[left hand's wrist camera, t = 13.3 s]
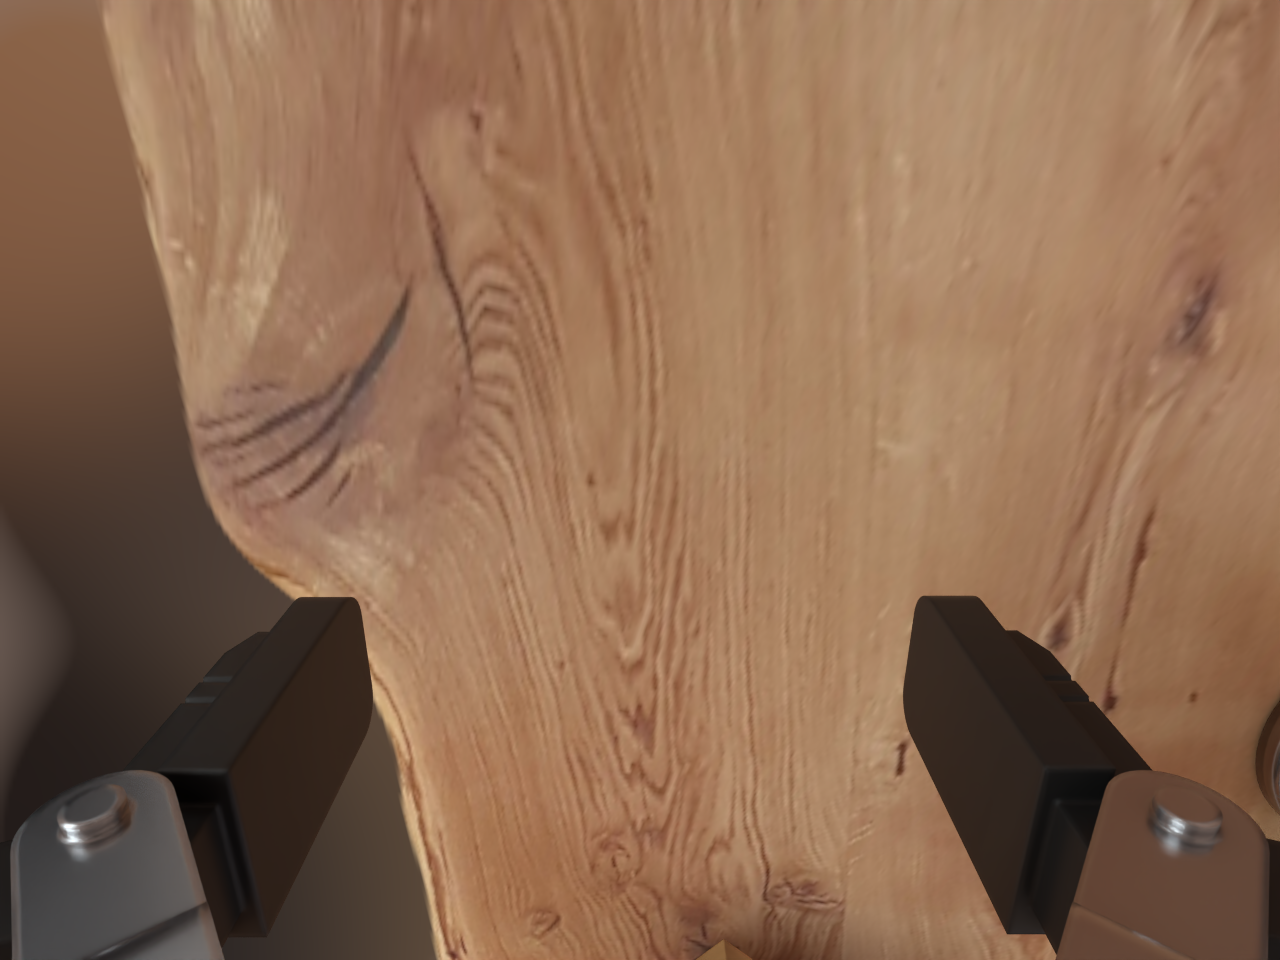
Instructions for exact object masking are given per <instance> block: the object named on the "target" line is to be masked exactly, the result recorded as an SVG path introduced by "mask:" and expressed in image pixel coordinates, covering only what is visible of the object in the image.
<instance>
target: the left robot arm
mask: <svg viewBox="0 0 1280 960" xmlns="http://www.w3.org/2000/svg"><path fill="white" fill-rule="evenodd" d="M903 704H904V713H905V719H906V723H907V727H908V730H909V732H910V734H911V737H912V739H913V741H914V743H915V745H916V747H917V749H918V751H919V753H920V755H921V757H922V759H923V761H924V763H925V765H926V768H927V770H928V772H929V774H930V776H931V778H932V780H933V782H934V784H935V786H936V788H937V790H938V792H939V794H940V796H941V799H942V801H943V803H944V805H945V807H946V809H947V811H948V813H949V815H950V817H951V819H952V821H953V823H954V825H955V828H956V830H957V832H958V834H959V836H960V838H961V840H962V842H963V844H964V846H965V848H966V850H967V852H968V854H969V856H970V859H971V861H972V863H973V865H974V867H975V869H976V871H977V873H978V875H979V877H980V879H981V881H982V883H983V885H984V887H985V890H986V892H987V894H988V896H989V898H990V900H991V902H992V904H993V906H994V908H995V910H996V912H997V914H998V916H999V918H1000V921H1001V923H1002V925H1003V927H1004V929H1005V931H1006V933H1007V934H1046V936H1047V938H1048V940H1049V941H1050V943H1051V945H1052V947H1053V949H1054V951H1055V953H1056V955H1057V956H1056V960H1280V841H1275V840H1271V839H1267V838H1266V837H1265V835H1264V833H1263V832H1262V830H1261V829H1260V827H1259V826H1258V824H1257V823H1256V822H1255V821H1254V820H1253V819H1252V818H1251V817H1250V816H1249V815H1248V814H1247V813H1246V812H1245V811H1244V810H1242V809H1241V808H1240V807H1239V806H1238V805H1236V804H1235V803H1233V802H1232V801H1231V800H1229V799H1228V798H1226V797H1224V796H1223V795H1221V794H1219V793H1218V792H1216V791H1214V790H1212V789H1210V788H1208V787H1206V786H1204V785H1202V784H1200V783H1197V782H1195V781H1192V780H1190V779H1187V778H1184V777H1180V776H1177V775H1173V774H1169V773H1165V772H1158V771H1152V769H1151V768H1150V767H1149V766H1148V765H1147V764H1146V762H1145V761H1144V760H1143V759H1142V758H1141V757H1140V755H1139V754H1138V753H1137V752H1136V751H1135V750H1134V748H1133V747H1132V746H1131V745H1130V744H1129V743H1128V742H1127V740H1126V739H1125V738H1124V737H1123V736H1122V735H1121V733H1120V732H1119V731H1118V730H1117V729H1116V728H1115V726H1114V725H1113V724H1112V723H1111V722H1110V721H1109V719H1108V718H1107V717H1106V716H1105V715H1104V714H1103V712H1102V711H1101V710H1100V709H1099V708H1098V707H1097V705H1096V704H1095V703H1094V702H1089V696H1088V695H1087V694H1086V693H1085V692H1084V690H1083V689H1082V688H1081V687H1080V686H1079V685H1078V683H1077V682H1076V681H1072V680H1071V675H1070V674H1069V673H1068V672H1067V671H1066V669H1065V668H1064V667H1063V666H1062V665H1061V664H1060V663H1059V661H1058V660H1057V659H1056V658H1055V657H1054V656H1053V654H1052V653H1051V652H1050V651H1048V650H1047V649H1045V648H1044V647H1042V646H1041V645H1039V644H1037V643H1036V642H1034V641H1033V640H1031V639H1030V638H1028V637H1026V636H1025V635H1023V634H1022V633H1020V632H1019V631H1006V630H1005V629H1004V628H1003V627H1002V625H1001V624H1000V623H999V622H998V620H997V619H996V618H995V617H994V616H993V614H992V613H991V612H990V611H989V609H988V608H987V607H986V606H985V604H984V603H983V602H982V601H981V600H980V599H979V598H978V597H976V596H922V597H920V598H919V600H918V602H917V604H916V607H915V612H914V618H913V625H912V632H911V639H910V646H909V653H908V660H907V667H906V674H905V680H904V688H903ZM372 706H373V690H372V682H371V675H370V668H369V662H368V655H367V648H366V641H365V634H364V628H363V621H362V614H361V609H360V606H359V604H358V602H357V600H356V599H355V598H353V597H300V598H298V599H296V600H295V601H294V602H293V604H292V605H291V606H290V607H289V608H288V610H287V611H286V612H285V613H284V615H283V616H282V617H281V618H280V620H279V621H278V622H277V623H276V625H275V626H274V627H273V628H272V629H271V631H270V632H257V633H256V634H254V635H253V636H251V637H249V638H248V639H246V640H245V641H243V642H242V643H240V644H238V645H237V646H235V647H234V648H232V649H231V650H229V651H227V652H226V653H225V654H224V655H223V656H222V657H221V658H220V659H219V660H218V662H217V663H216V664H215V665H214V666H213V667H212V669H211V670H210V671H209V672H208V673H207V674H206V675H205V677H204V681H203V683H199V684H198V685H197V686H196V687H195V688H194V689H193V690H192V692H191V693H190V694H189V695H188V696H187V697H186V702H185V704H180V705H179V707H178V708H177V709H176V710H175V711H174V712H173V713H172V715H171V716H170V717H169V718H168V719H167V720H166V721H165V723H164V724H163V725H162V726H161V727H160V728H159V730H158V731H157V732H156V733H155V734H154V735H153V736H152V738H151V739H150V740H149V741H148V742H147V743H146V744H145V746H144V747H143V748H142V749H141V750H140V751H139V753H138V754H137V755H136V756H135V757H134V758H133V759H132V761H131V762H130V763H129V764H128V765H127V766H126V768H125V769H124V770H123V771H122V772H115V773H111V774H107V775H103V776H100V777H97V778H94V779H90V780H88V781H85V782H83V783H80V784H78V785H76V786H74V787H72V788H70V789H68V790H66V791H64V792H62V793H61V794H59V795H57V796H56V797H54V798H52V799H51V800H49V801H48V802H47V803H45V804H44V805H42V806H41V807H40V808H39V809H38V810H36V811H35V812H34V813H33V814H32V815H31V816H30V817H29V818H28V819H27V820H26V821H25V822H24V823H23V824H22V826H21V827H20V829H19V830H18V832H17V833H16V835H15V837H14V839H13V840H9V841H6V842H2V843H0V960H224V956H223V953H222V947H223V945H224V944H225V942H226V940H227V938H228V937H267V936H268V934H269V932H270V930H271V928H272V926H273V924H274V922H275V919H276V918H277V916H278V913H279V911H280V909H281V907H282V905H283V903H284V901H285V899H286V897H287V895H288V893H289V891H290V889H291V887H292V885H293V883H294V881H295V879H296V877H297V875H298V873H299V871H300V869H301V867H302V864H303V862H304V860H305V858H306V856H307V854H308V852H309V850H310V848H311V846H312V844H313V842H314V840H315V838H316V836H317V834H318V832H319V830H320V828H321V826H322V824H323V822H324V820H325V818H326V816H327V813H328V811H329V809H330V807H331V805H332V803H333V801H334V799H335V797H336V795H337V793H338V791H339V789H340V787H341V785H342V783H343V781H344V779H345V777H346V775H347V772H348V771H349V768H350V766H351V764H352V762H353V760H354V758H355V756H356V754H357V752H358V750H359V748H360V746H361V744H362V742H363V740H364V738H365V736H366V733H367V731H368V728H369V724H370V720H371V714H372Z"/></svg>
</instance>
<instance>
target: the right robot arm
mask: <svg viewBox="0 0 1280 960" xmlns="http://www.w3.org/2000/svg"><path fill="white" fill-rule="evenodd" d="M1256 774H1257V780H1258V783H1259V786H1260V789H1261V791H1262V793H1263V795H1264V797H1265V798H1266V800H1267V801H1268V803H1269V804H1270V805H1271V806H1272V808H1273V809H1274V810H1275V811H1276V812H1277V813H1278V814H1279V815H1280V701H1279V703H1278V704H1277V706H1276V707H1275V708H1274V710H1273V712H1272V713H1271V715H1270V717H1269V718H1268V720H1267V722H1266V724H1265V727H1264V729H1263V731H1262V734H1261V737H1260V740H1259V743H1258V748H1257V754H1256Z"/></svg>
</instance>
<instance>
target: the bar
mask: <svg viewBox="0 0 1280 960" xmlns="http://www.w3.org/2000/svg"><path fill="white" fill-rule="evenodd" d="M696 960H753V959H751V958H750V957H748V956H747V955H746V954H744V953H743V952H741V951H740V950H739V949H737V948H736V947H734V946H733V945H732V944H730V943H729V942H727V941H726V940H724V939H723V940H722V941H720V942H719V943H718V944H716V945H715V946H714V947H712V948H711V949H710V950H708V951H707V952H705V953H704V954H703V955H701V956H700V957H699V958H697V959H696Z"/></svg>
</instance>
